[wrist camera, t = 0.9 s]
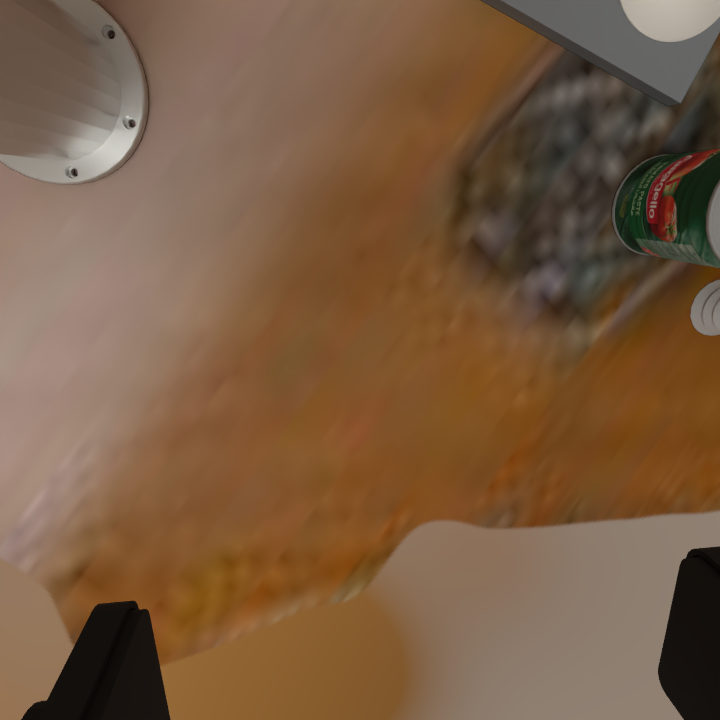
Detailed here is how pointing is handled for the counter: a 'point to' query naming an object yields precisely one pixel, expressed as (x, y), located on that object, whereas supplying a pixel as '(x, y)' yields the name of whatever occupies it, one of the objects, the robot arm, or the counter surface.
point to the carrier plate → (629, 37)
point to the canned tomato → (672, 207)
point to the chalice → (707, 310)
